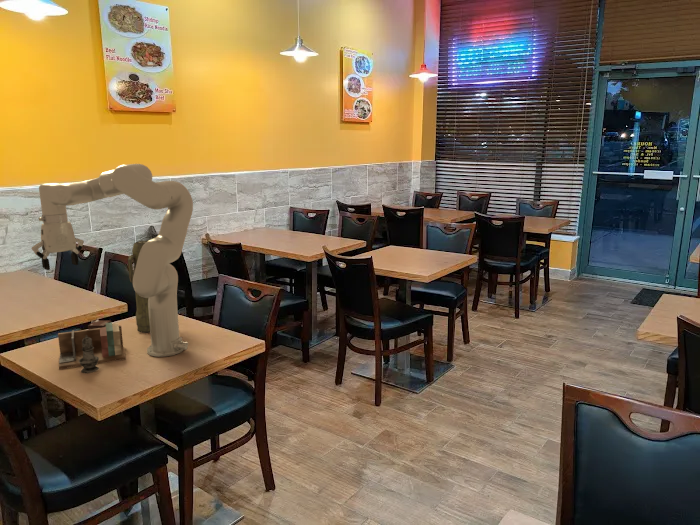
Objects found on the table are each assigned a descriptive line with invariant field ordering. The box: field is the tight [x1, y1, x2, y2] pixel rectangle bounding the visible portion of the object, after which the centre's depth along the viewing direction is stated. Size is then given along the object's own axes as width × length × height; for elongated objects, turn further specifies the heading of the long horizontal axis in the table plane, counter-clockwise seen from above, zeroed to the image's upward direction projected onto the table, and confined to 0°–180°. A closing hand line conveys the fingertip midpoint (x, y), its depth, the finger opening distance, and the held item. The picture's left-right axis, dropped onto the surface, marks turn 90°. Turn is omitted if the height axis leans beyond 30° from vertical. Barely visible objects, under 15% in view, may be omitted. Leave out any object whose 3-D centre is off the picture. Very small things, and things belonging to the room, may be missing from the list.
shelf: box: [57, 322, 126, 370], centre depth 184 cm, size 20×13×10 cm, turn 116°
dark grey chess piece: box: [79, 335, 100, 374], centre depth 174 cm, size 6×6×12 cm
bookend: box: [58, 329, 76, 365], centre depth 181 cm, size 5×9×8 cm, turn 26°
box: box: [87, 320, 112, 330], centre depth 199 cm, size 6×6×7 cm
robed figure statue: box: [127, 240, 150, 334], centre depth 209 cm, size 9×12×35 cm
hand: (61, 267), depth 191 cm, fingers open, 9 cm apart
